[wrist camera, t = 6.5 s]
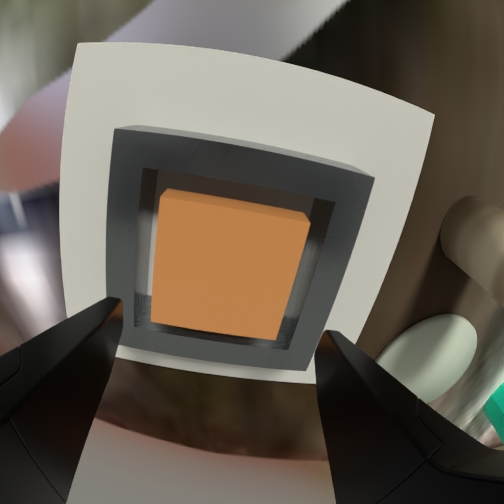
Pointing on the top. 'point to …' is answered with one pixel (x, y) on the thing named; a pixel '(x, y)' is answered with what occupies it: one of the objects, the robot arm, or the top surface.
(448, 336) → the mat
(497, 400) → the candle
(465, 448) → the robot arm
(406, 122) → the white flat square slab
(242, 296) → the button
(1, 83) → the top surface
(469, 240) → the tan cylinder
